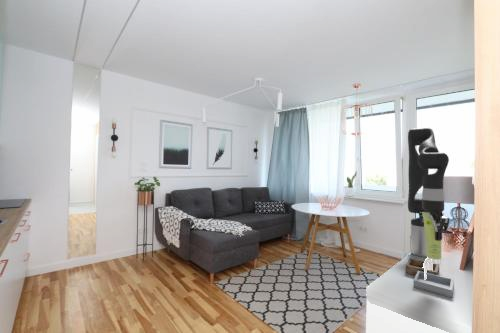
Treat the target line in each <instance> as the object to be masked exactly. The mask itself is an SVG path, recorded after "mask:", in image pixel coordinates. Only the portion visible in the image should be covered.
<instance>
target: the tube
mask: <svg viewBox="0 0 500 333" xmlns="http://www.w3.org/2000/svg"><path fill="white" fill-rule="evenodd" d="M442 214H443V216H444V214H445V213H444V212H442ZM422 215H423V220H424V227H425V238H426V251H427V257H426V258H429V259H432V260H442V240H441V241H437V240H435V227H434V226H433V224H432V220H431V218H430V212H422ZM444 217H445V216H444ZM436 224H440V222H439V223H436ZM438 229H439V226H438Z"/></svg>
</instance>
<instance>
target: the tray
mask: <svg viewBox="0 0 500 333" xmlns="http://www.w3.org/2000/svg"><path fill="white" fill-rule="evenodd" d="M426 274H427V279H426V280H424V272H421V271H418V272H417V274H416V276H414V278H413V288H414V289H419V290H421V291H426V292H429V293H432V294H436V295H441V296H443V297H448V298H449V299H450V298H451V299H453V296H454V284H455V282H454V278H451V277H446V276H442V275H439V276H438V275H434V274H430V273H426Z"/></svg>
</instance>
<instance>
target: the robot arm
mask: <svg viewBox="0 0 500 333" xmlns="http://www.w3.org/2000/svg"><path fill="white" fill-rule="evenodd" d="M407 144H408V195H407V210H408V211H409V213H413V214H418V217H414V218H412V219H411V220H410V235H409V252H410V254H412V255H414V256H419V257H423V258H428V257H427V251H426V238H425V227H424V220H423V215H422V212H430V218H431V220H432V224H433V226H434V227H435V240H437V241H441V242H442V240H443V232H447V231H448V228H449V223H450V220H451V219H450V217H445V216H443V214H442V213H443V212H444V211H445V191H444V177H445V173H446V170H447V168H448V164H449V161H450V158H449V155H448V154H447V153H446V152H440V151H439V149H438V147H437V145H436V138H435V133H434V130H433V129H432V128H430V127H420V128H418V127H417V128H411V129H409V130H408V133H407ZM416 146H418V149H416ZM429 170H436V172H434V173H429ZM421 188H422V192H421V193H422V194H421V197H416V195H417V193H418V192H419V191H420V189H421ZM439 222H440V224H436V223H439ZM438 226H439V229H438Z"/></svg>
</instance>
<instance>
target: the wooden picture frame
mask: <svg viewBox="0 0 500 333" xmlns="http://www.w3.org/2000/svg"><path fill="white" fill-rule="evenodd" d="M424 261H425V260H421V259H415V258H412V257H409V259H408V261H406V264H405V274H406V275H410V276H411V275H412V276H414V277H415V276H416V274H417V272H418V271H421V272H424V268H422V267H423V263H424ZM433 263H434V262H433ZM427 273H430V274H434V275H438V276H440V264H439V263H436V262H435V263H434V264H433V271H432V270H427Z"/></svg>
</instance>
